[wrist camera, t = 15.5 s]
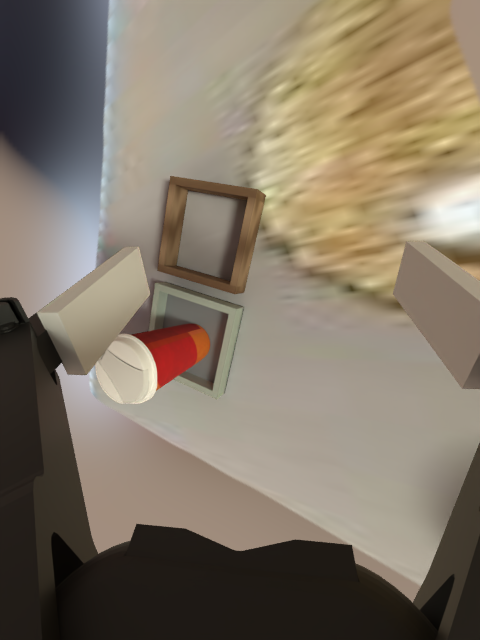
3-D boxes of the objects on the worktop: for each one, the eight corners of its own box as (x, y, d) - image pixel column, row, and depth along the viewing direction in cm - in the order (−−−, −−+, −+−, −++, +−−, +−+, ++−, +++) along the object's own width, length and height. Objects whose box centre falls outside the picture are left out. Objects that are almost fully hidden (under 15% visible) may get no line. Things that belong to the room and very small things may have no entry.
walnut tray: (183, 181, 42) (170, 176, 39) (265, 195, 37) (257, 189, 34) (170, 270, 45) (157, 270, 43) (244, 292, 41) (235, 294, 38)
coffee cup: (164, 343, 48) (82, 373, 34) (187, 305, 44) (108, 320, 31) (200, 378, 46) (129, 424, 32) (227, 340, 43) (161, 374, 29)
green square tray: (165, 282, 46) (155, 282, 44) (244, 306, 41) (236, 309, 39) (154, 361, 50) (143, 365, 47) (224, 392, 45) (216, 399, 42)
